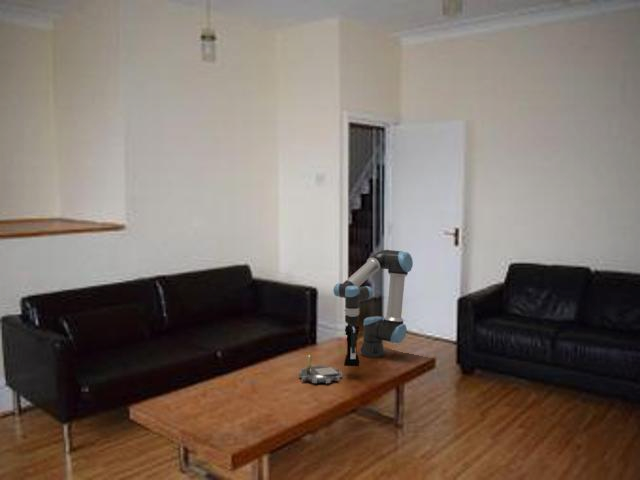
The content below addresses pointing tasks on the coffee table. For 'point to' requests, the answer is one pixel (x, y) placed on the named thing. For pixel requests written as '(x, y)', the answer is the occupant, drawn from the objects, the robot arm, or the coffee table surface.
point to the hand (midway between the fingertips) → (351, 356)
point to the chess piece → (347, 360)
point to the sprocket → (319, 373)
